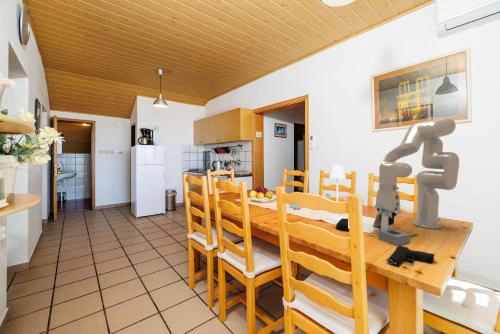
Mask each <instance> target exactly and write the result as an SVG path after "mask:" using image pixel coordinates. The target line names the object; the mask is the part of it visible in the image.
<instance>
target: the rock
mask: <svg viewBox="0 0 500 334" xmlns="http://www.w3.org/2000/svg"><path fill="white" fill-rule="evenodd" d="M373 227H380V228H381V222H380V214H379V212H377V215H376V217H375V219H374V222H373Z"/></svg>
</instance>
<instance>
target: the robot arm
mask: <svg viewBox="0 0 500 334" xmlns="http://www.w3.org/2000/svg"><path fill="white" fill-rule="evenodd" d="M455 130H456V122H455V121H454V120H453V119H452V118H441V119H433V120H432V119H431V120H424V121H421V122H417V123H416V122H415V123H413V124H411V125H410V126H409V127H408V130H407V131H406V133H405V135H404V137H403V139H402V140H401V143H400V144H399V145H398V146H396V147H394V148H393V149H392V150H390V151H389V152H388V153H386V154H385V156H384V158H383V159H382V161H381V163H380V164H379V171H378V172H379V173H378V175H379V177H378V181H379V182H378V189H377V192H376V196H375V197H376V198H375V205H374V206H373V207H374V209H376V210H377V213H379V214H380V222H381V219H382V211H385V210H387V211H389V216H390V217H388V225H393V226H394V223H395V217H397V216H398V215H400V214H402V211H401V200H400V194H399V191H398V190H399V187H398V186H397V182H398V181H397V179H398V178H401V179H402V178H408V177H410V175H412V173H413V167H412V165H410V164H409V163H406V162H396V161H398V160H400V159H403V158H404V157H408V156H411V155H413V154H416V153H417V152H419V150H420V148H421V146H422V145H423V150H422V155H421V156H422V157H421V165H422V167H423V168H426V169H429V170H423V171H420V172H418V173H417V174H416V177H415V179H416V180H415V181H416V185H417V186H416V187H417V199H416V200H417V201H416V220H415V219H414V220H413V221H412V225H415V226H417V227H421V228H425V229H432V230H436V229H437V230H439V229H441V228H442V225H441V224H440V223H438V222H441V221H442V219H441V218H440V217H439V203H440V201H439V200H440V196H439V193H438V191H437V189H438V190H446V191H451V190H454V189H455V188H456V186H457V183H458V176H459V169H460V158H459V155H458V154H457V153H456V152H454V151H453V152H452V151H451V152H450V151H443V150H444V149H443V148H444V143H443V141H442V138H441V137H445V136H449V135H451V134H453V133H454V132H455ZM431 169H432V170H431ZM435 170H443V171H435Z"/></svg>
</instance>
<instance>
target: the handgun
mask: <svg viewBox="0 0 500 334" xmlns="http://www.w3.org/2000/svg"><path fill="white" fill-rule="evenodd" d="M385 260H386V262H387V263H388V264H389V265H391V266H393V267H400V266H401V264H402V263H403V262H404V263H407V264H411V265H413V263H414V262H415V261H417V262H422V263H427V264H431V265H432V264H433V263H434V261H435V254H434V253H429V252H426V251H421V250H413V249H410V248H409V247H407V246H403V245H399V246H396V247H395V250H394V252H392V254H390V256H389V257H388V258H387V259H385Z"/></svg>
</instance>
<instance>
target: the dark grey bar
mask: <svg viewBox="0 0 500 334" xmlns="http://www.w3.org/2000/svg"><path fill="white" fill-rule="evenodd" d="M415 237H419V234H417V233H414V234H410V239H411V238H415Z"/></svg>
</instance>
